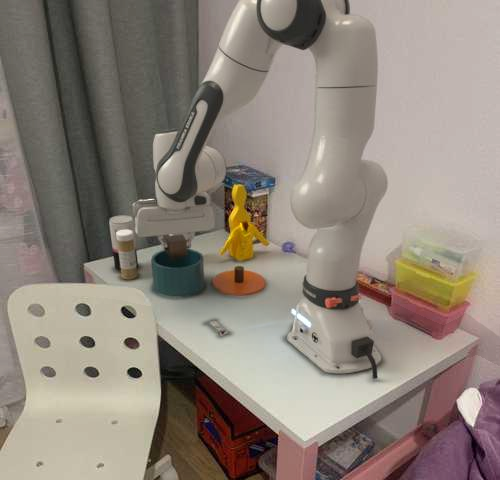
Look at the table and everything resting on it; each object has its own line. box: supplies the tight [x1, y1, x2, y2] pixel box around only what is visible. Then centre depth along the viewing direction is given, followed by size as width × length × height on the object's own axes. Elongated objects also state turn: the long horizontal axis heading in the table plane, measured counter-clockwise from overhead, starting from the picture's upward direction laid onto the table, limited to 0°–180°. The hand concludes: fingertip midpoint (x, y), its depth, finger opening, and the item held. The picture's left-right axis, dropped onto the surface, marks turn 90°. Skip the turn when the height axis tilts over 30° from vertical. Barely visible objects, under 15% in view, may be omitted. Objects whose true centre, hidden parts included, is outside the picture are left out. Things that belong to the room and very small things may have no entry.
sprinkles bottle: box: [116, 229, 138, 281], centre depth 135 cm, size 5×5×14 cm
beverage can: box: [108, 214, 139, 273], centre depth 139 cm, size 6×7×15 cm
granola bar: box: [210, 320, 229, 337], centre depth 115 cm, size 7×2×1 cm, turn 33°
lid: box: [212, 265, 266, 296], centre depth 134 cm, size 15×15×5 cm
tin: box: [150, 248, 205, 298], centre depth 131 cm, size 14×14×8 cm
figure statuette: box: [218, 183, 271, 261], centre depth 146 cm, size 18×8×22 cm, turn 121°
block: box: [165, 234, 187, 259], centre depth 128 cm, size 5×5×5 cm
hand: (176, 248), depth 128 cm, fingers closed on block, 4 cm apart
